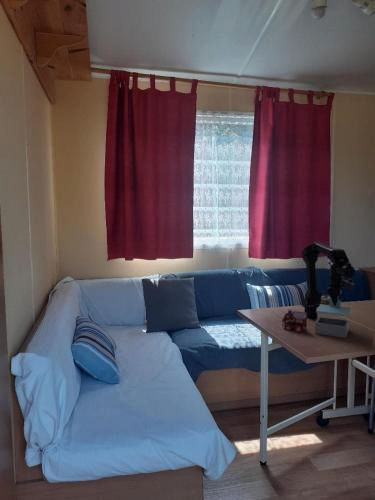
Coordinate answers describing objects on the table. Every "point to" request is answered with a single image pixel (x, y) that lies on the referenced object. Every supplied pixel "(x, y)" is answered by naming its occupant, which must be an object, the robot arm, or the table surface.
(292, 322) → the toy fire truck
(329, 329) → the tub
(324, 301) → the cupcake
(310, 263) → the robot arm
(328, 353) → the table surface
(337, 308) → the lid
